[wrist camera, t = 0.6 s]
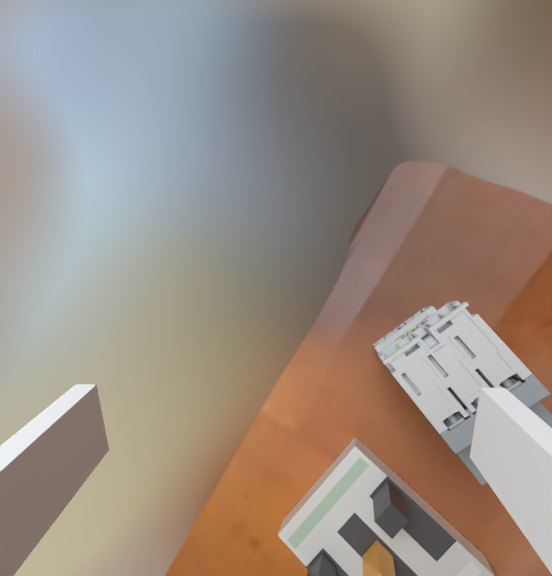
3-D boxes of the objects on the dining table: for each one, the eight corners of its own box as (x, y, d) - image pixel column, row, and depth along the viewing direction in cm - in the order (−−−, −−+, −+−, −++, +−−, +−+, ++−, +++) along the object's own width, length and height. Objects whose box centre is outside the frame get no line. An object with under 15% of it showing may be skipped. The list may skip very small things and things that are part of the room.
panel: (484, 555, 33) (495, 577, 30) (398, 644, 34) (401, 674, 32) (355, 436, 38) (355, 446, 35) (283, 519, 39) (277, 535, 36)
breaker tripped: (392, 555, 33) (397, 590, 28) (377, 571, 33) (380, 608, 29) (377, 539, 33) (379, 571, 29) (362, 555, 33) (362, 589, 29)
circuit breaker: (455, 449, 35) (522, 539, 21) (372, 344, 38) (380, 359, 24) (514, 411, 34) (629, 479, 19) (423, 307, 37) (464, 299, 23)
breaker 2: (402, 495, 33) (409, 520, 29) (388, 511, 33) (392, 539, 29) (387, 480, 33) (390, 503, 29) (372, 496, 34) (374, 521, 29)
